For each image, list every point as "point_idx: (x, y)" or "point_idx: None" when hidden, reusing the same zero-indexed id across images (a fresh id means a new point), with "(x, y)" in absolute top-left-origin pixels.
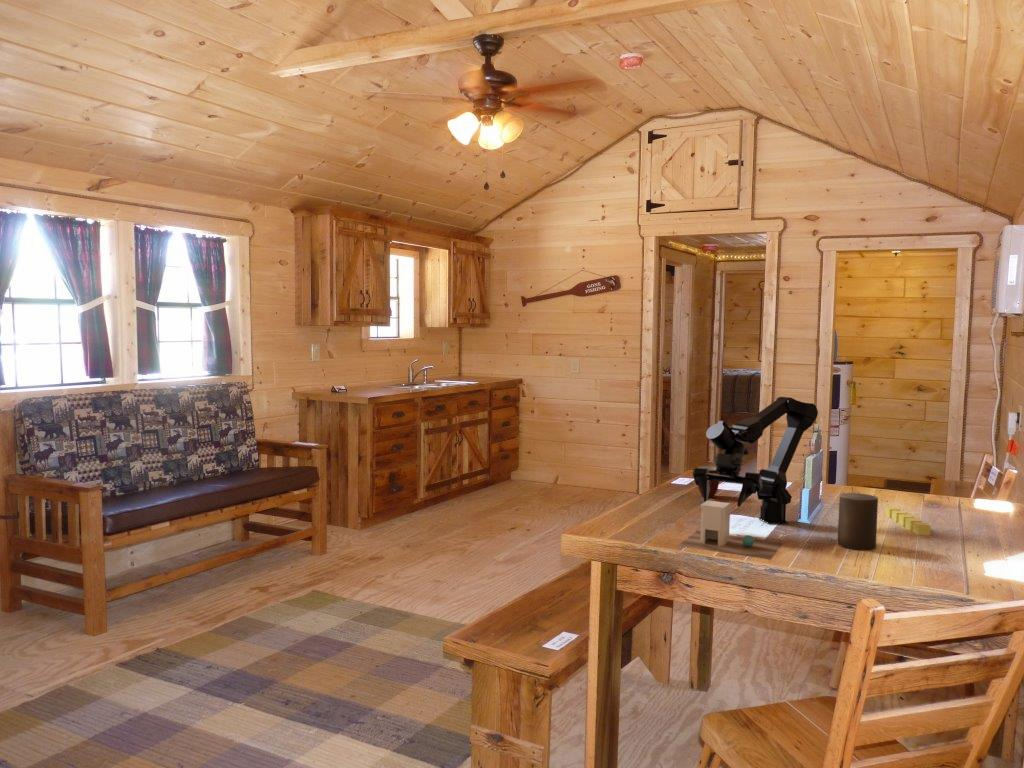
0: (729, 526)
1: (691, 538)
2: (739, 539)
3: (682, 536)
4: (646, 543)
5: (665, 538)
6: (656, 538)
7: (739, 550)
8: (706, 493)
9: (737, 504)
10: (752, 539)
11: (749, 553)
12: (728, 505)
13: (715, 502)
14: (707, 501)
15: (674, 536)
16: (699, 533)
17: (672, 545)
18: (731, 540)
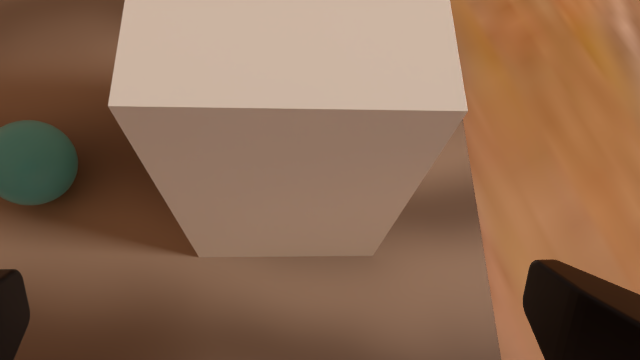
0: (178, 220)
1: (446, 180)
2: (129, 340)
3: (534, 248)
4: (608, 10)
5: (590, 146)
6: (629, 120)
7: (97, 69)
8: (627, 316)
9: (14, 269)
10: None
11: (32, 41)
12: (125, 30)
13: (319, 50)
14: (434, 53)
15: (574, 219)
16: (457, 345)
17: (483, 36)
18: (183, 275)
